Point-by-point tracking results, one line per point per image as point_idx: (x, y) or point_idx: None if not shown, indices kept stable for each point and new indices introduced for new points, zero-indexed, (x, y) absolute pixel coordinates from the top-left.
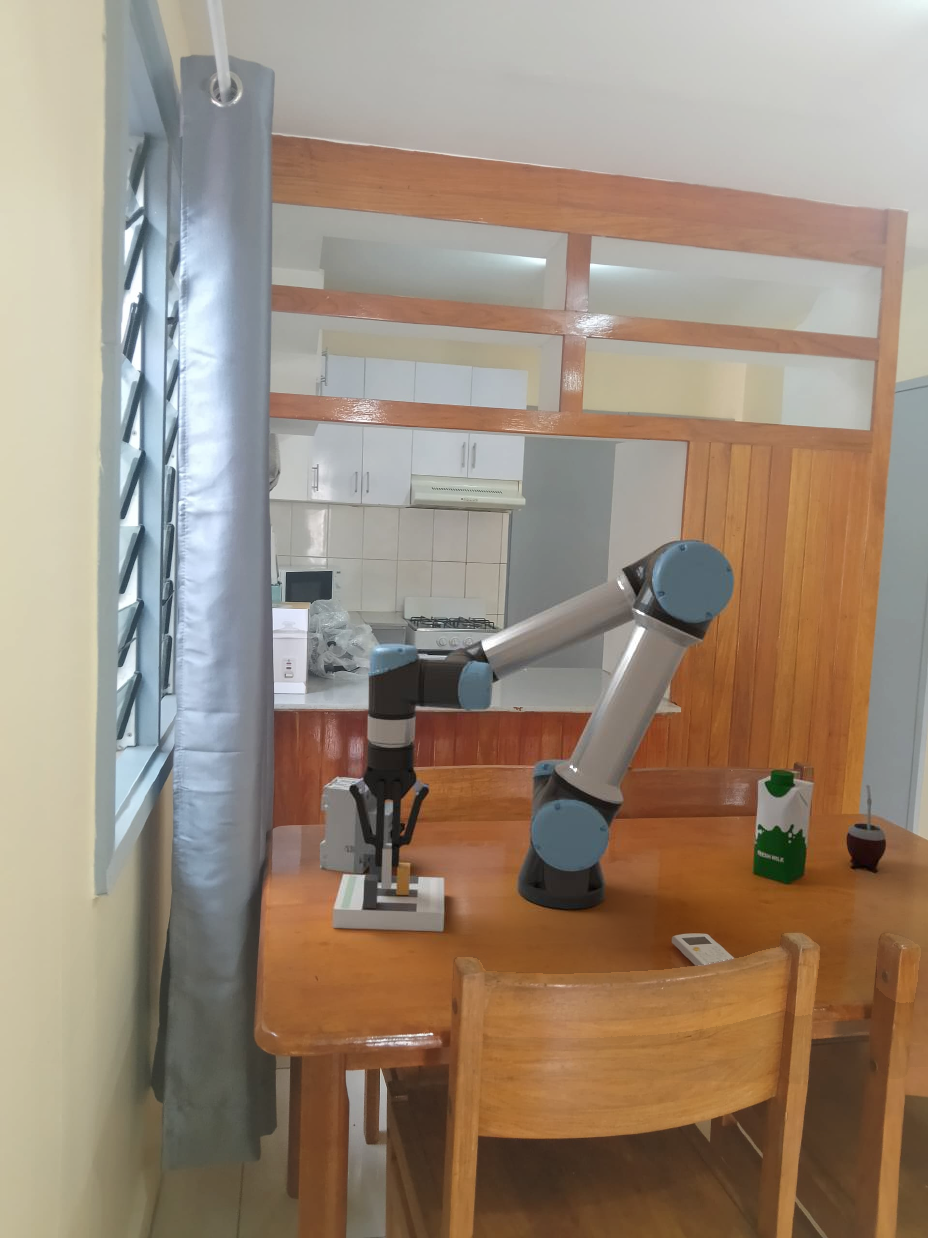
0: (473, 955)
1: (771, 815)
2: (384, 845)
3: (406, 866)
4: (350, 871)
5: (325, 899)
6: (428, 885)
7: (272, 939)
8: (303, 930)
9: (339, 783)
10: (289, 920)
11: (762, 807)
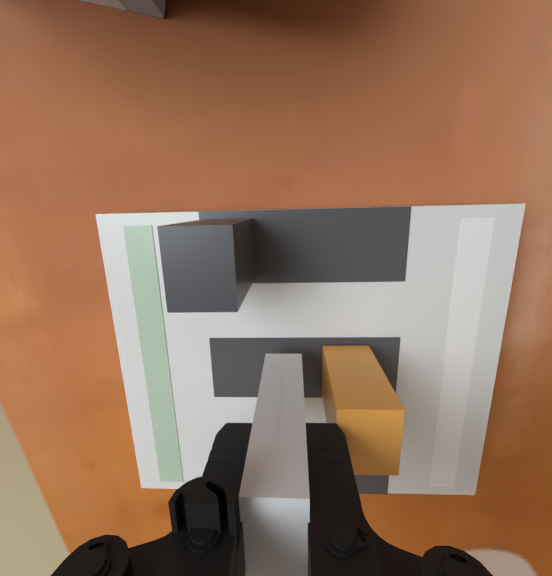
0: (502, 545)
1: None
2: (250, 534)
3: (382, 454)
4: (111, 5)
5: (96, 278)
6: (446, 292)
7: (48, 497)
8: (99, 457)
9: None
10: (48, 412)
11: None
